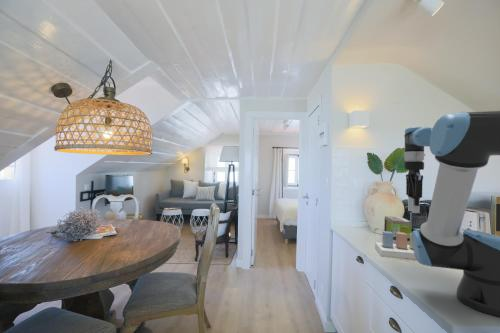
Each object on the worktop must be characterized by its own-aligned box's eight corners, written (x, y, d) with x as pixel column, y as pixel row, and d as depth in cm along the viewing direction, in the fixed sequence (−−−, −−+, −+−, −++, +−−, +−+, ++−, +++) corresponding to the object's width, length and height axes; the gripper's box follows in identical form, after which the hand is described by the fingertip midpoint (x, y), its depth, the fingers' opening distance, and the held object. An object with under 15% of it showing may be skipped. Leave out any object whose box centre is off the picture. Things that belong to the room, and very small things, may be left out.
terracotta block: (407, 248, 125) (407, 234, 125) (398, 247, 126) (398, 233, 126) (404, 245, 129) (404, 232, 129) (395, 245, 130) (396, 232, 130)
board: (431, 261, 118) (431, 254, 118) (381, 256, 124) (381, 250, 124) (419, 251, 132) (419, 245, 132) (375, 247, 137) (375, 242, 137)
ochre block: (421, 249, 124) (421, 235, 124) (412, 248, 125) (412, 235, 125) (418, 247, 127) (418, 233, 128) (409, 246, 129) (409, 233, 129)
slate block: (393, 247, 127) (393, 233, 127) (384, 246, 128) (384, 232, 128) (390, 244, 131) (390, 231, 131) (382, 244, 132) (382, 231, 132)
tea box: (411, 247, 139) (412, 221, 139) (392, 246, 141) (392, 220, 141) (401, 239, 153) (401, 216, 153) (383, 238, 155) (383, 215, 155)
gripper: (432, 160, 103) (431, 216, 103) (416, 161, 120) (415, 209, 120) (412, 160, 105) (411, 214, 105) (398, 161, 122) (398, 208, 122)
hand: (413, 211), depth 112 cm, fingers open, 4 cm apart
